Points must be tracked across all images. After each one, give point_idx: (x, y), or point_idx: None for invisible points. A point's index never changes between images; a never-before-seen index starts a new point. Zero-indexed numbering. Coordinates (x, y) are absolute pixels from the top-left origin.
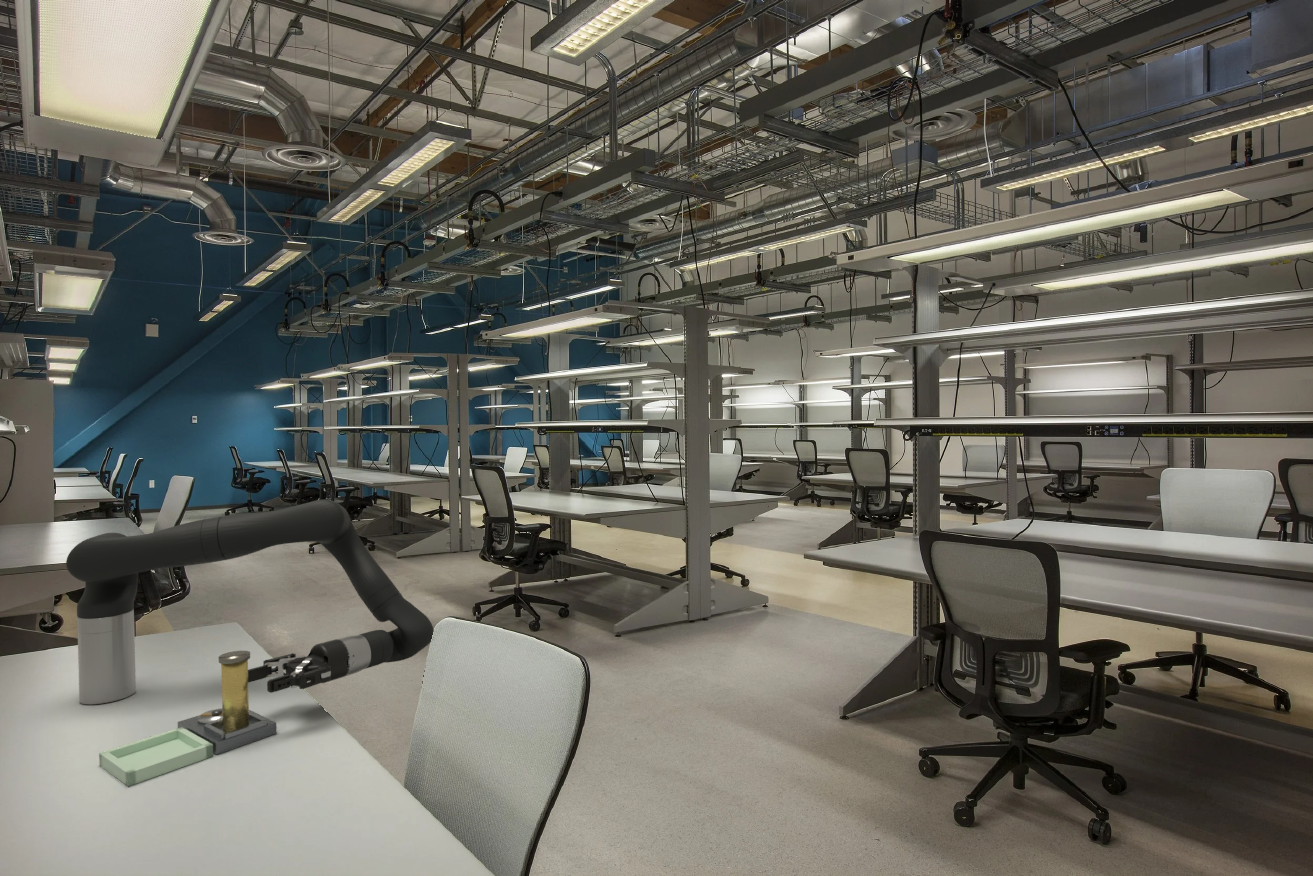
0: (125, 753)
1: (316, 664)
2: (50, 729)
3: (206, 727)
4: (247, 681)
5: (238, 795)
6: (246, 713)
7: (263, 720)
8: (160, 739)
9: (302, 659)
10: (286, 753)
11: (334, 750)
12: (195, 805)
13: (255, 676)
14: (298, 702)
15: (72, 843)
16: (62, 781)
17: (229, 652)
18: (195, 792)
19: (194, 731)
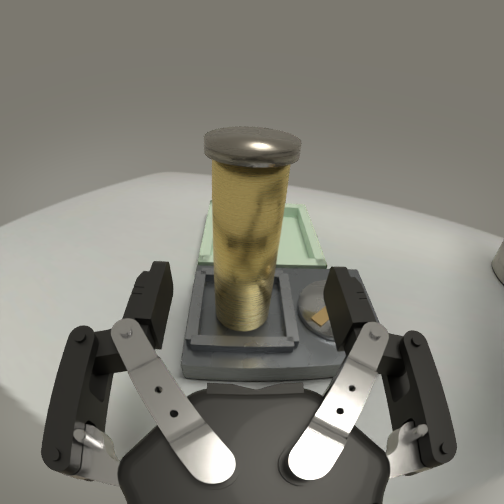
0: (300, 224)
1: (149, 475)
2: (441, 231)
3: None
4: (222, 232)
5: (72, 252)
6: (218, 297)
7: (194, 336)
8: (308, 247)
9: (286, 460)
10: None
11: (24, 373)
12: (102, 229)
13: (333, 307)
14: None
15: (152, 184)
16: (289, 201)
17: (297, 140)
18: (125, 237)
19: (287, 268)
